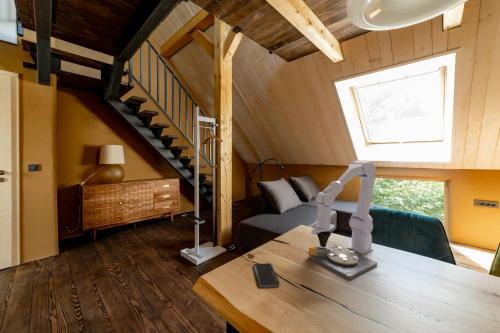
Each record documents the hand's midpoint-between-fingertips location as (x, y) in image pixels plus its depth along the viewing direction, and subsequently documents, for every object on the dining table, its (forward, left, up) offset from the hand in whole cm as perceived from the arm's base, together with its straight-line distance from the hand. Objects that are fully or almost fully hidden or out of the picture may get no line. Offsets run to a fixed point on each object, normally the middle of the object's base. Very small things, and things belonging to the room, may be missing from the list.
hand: (322, 246), depth 101 cm
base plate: (-1, +9, -4) cm, 10 cm away
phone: (+34, 0, -4) cm, 34 cm away
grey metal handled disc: (+1, +6, -2) cm, 7 cm away
